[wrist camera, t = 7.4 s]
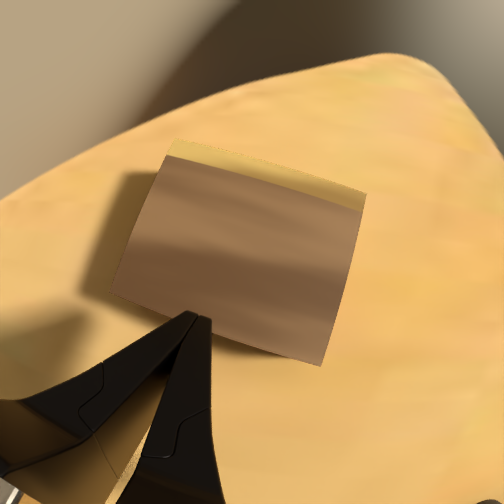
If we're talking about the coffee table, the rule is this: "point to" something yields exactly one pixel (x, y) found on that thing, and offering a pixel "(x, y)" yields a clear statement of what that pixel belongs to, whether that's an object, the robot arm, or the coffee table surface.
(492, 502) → the media streaming box
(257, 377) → the coffee table surface
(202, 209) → the walnut block
